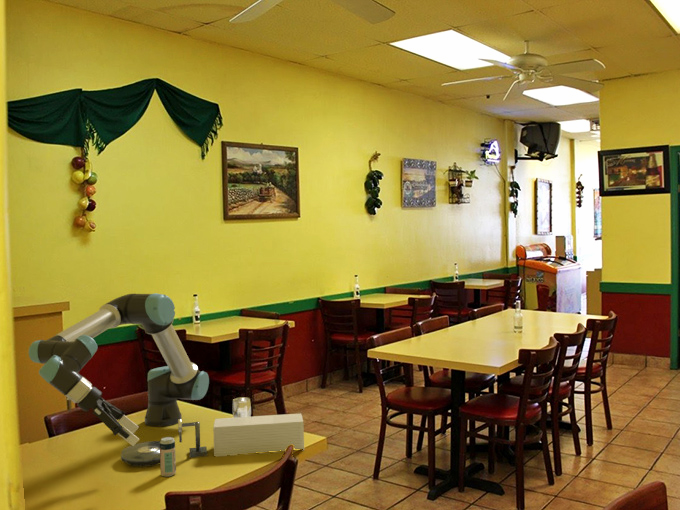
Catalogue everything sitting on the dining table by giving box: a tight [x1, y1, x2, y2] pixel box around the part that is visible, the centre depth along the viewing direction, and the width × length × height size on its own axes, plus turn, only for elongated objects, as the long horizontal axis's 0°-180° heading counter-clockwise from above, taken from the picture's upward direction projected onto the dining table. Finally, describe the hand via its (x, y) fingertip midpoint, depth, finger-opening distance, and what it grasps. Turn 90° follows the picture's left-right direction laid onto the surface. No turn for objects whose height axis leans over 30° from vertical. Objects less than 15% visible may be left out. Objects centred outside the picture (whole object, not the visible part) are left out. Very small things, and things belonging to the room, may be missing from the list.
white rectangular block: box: [212, 413, 305, 457], centre depth 231 cm, size 32×11×11 cm, turn 98°
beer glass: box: [232, 396, 252, 418], centre depth 244 cm, size 7×7×15 cm
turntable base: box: [127, 462, 160, 468], centre depth 223 cm, size 14×14×1 cm
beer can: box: [159, 436, 177, 478], centre depth 208 cm, size 5×5×12 cm
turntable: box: [120, 440, 161, 465], centre depth 223 cm, size 18×18×2 cm
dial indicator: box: [177, 419, 208, 459], centre depth 226 cm, size 6×10×13 cm, turn 104°
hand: (136, 436), depth 204 cm, fingers open, 13 cm apart
